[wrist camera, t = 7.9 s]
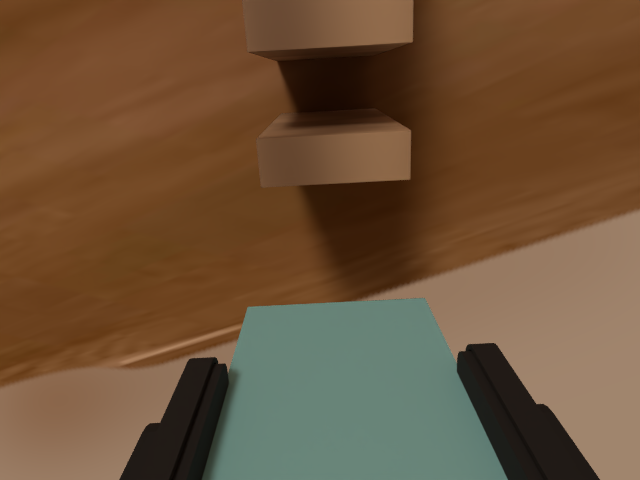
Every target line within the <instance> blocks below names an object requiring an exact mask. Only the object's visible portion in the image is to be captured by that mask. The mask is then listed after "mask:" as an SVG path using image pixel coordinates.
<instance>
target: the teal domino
mask: <svg viewBox="0 0 640 480" xmlns="http://www.w3.org/2000/svg"><path fill="white" fill-rule="evenodd" d="M228 378H229V385H228V389H227V392H226V396H225V399H224V403H223V406H222V410H221V413H220V417H219V421H218V424H217V428H216V431H215V435H214V438H213V442H212V445H211V449H210V452H209V456H208V459H207V463H206V466H205V470H204V473H203V477H202V480H508V479H507V477H506V475H505V473H504V470H503V468H502V466H501V464H500V462H499V460H498V458H497V456H496V454H495V451H494V449H493V447H492V445H491V443H490V441H489V439H488V437H487V435H486V432H485V430H484V428H483V426H482V424H481V422H480V420H479V418H478V416H477V413H476V411H475V409H474V407H473V405H472V403H471V401H470V399H469V397H468V394H467V392H466V390H465V388H464V386H463V384H462V382H461V380H460V378H459V375H458V373H457V363H456V361H455V359H454V357H453V355H452V353H451V351H450V349H449V347H448V345H447V343H446V341H445V338H444V336H443V334H442V332H441V330H440V328H439V326H438V324H437V322H436V320H435V318H434V316H433V314H432V312H431V310H430V308H429V306H428V303H427V301H426V299H425V298H414V299H397V300H396V299H395V300H375V301H355V302H336V303H316V304H297V305H277V306H258V307H248V308H247V312H246V315H245V319H244V322H243V325H242V329H241V332H240V335H239V339H238V342H237V346H236V349H235V353H234V356H233V359H232V362H231V366H230V369H229V373H228Z"/></svg>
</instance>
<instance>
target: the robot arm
mask: <svg viewBox="0 0 640 480" xmlns="http://www.w3.org/2000/svg"><path fill="white" fill-rule="evenodd" d="M457 373H458V375H459V378H460V380H461V382H462V384H463V386H464V388H465V390H466V392H467V394H468V397H469V399H470V401H471V403H472V405H473V407H474V409H475V411H476V413H477V416H478V418H479V420H480V422H481V424H482V426H483V428H484V430H485V432H486V435H487V437H488V439H489V441H490V443H491V445H492V447H493V449H494V451H495V454H496V456H497V458H498V460H499V462H500V464H501V466H502V468H503V470H504V473H505V475H506V477H507V479H508V480H600V479H599V478H598V476H597V475H596V473H595V472H594V471H593V469H592V468H591V466H590V465H589V463H588V462H587V461H586V459H585V458H584V457H583V455H582V453H581V452H580V451H579V449H578V448H577V446H576V445H575V443H574V442H573V441H572V439H571V438H570V436H569V435H568V433H567V432H566V431H565V429H564V428H563V426H562V425H561V423H560V422H559V421H558V419H557V418H556V416H555V415H554V413H553V412H552V411H551V410H550V409H549V408H548V407H547V406H546V405H544V404H536V403H535V402H534V400H533V399H532V397H531V396H530V394H529V393H528V391H527V390H526V388H525V387H524V385H523V384H522V382H521V381H520V379H519V378H518V376H517V375H516V373H515V372H514V370H513V369H512V367H511V366H510V364H509V363H508V361H507V360H506V358H505V357H504V355H503V354H502V352H501V351H500V349H499V348H498V346H497V345H496V344H494V343H485V344H469V345H467V347H466V351H461V352H459V353H458V358H457ZM228 385H229V378H228V372H227V366H226V364H218V360H217V358H215V357H211V358H192V359H189V361H188V362H187V364H186V367H185V369H184V371H183V374H182V375H181V378H180V380H179V382H178V385H177V387H176V389H175V391H174V393H173V396H172V398H171V400H170V402H169V405H168V407H167V409H166V411H165V413H164V416H163V418H162V420H161V423H150V424H149V425H147V426H146V428H145V429H144V431H143V432H142V434H141V437H140V438H139V440H138V443H137V445H136V447H135V449H134V451H133V453H132V455H131V457H130V459H129V461H128V463H127V465H126V467H125V469H124V471H123V473H122V475H121V478H120V480H202V477H203V473H204V470H205V466H206V463H207V459H208V456H209V452H210V449H211V445H212V442H213V438H214V435H215V431H216V428H217V424H218V421H219V417H220V413H221V410H222V406H223V403H224V399H225V396H226V392H227V389H228Z"/></svg>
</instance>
